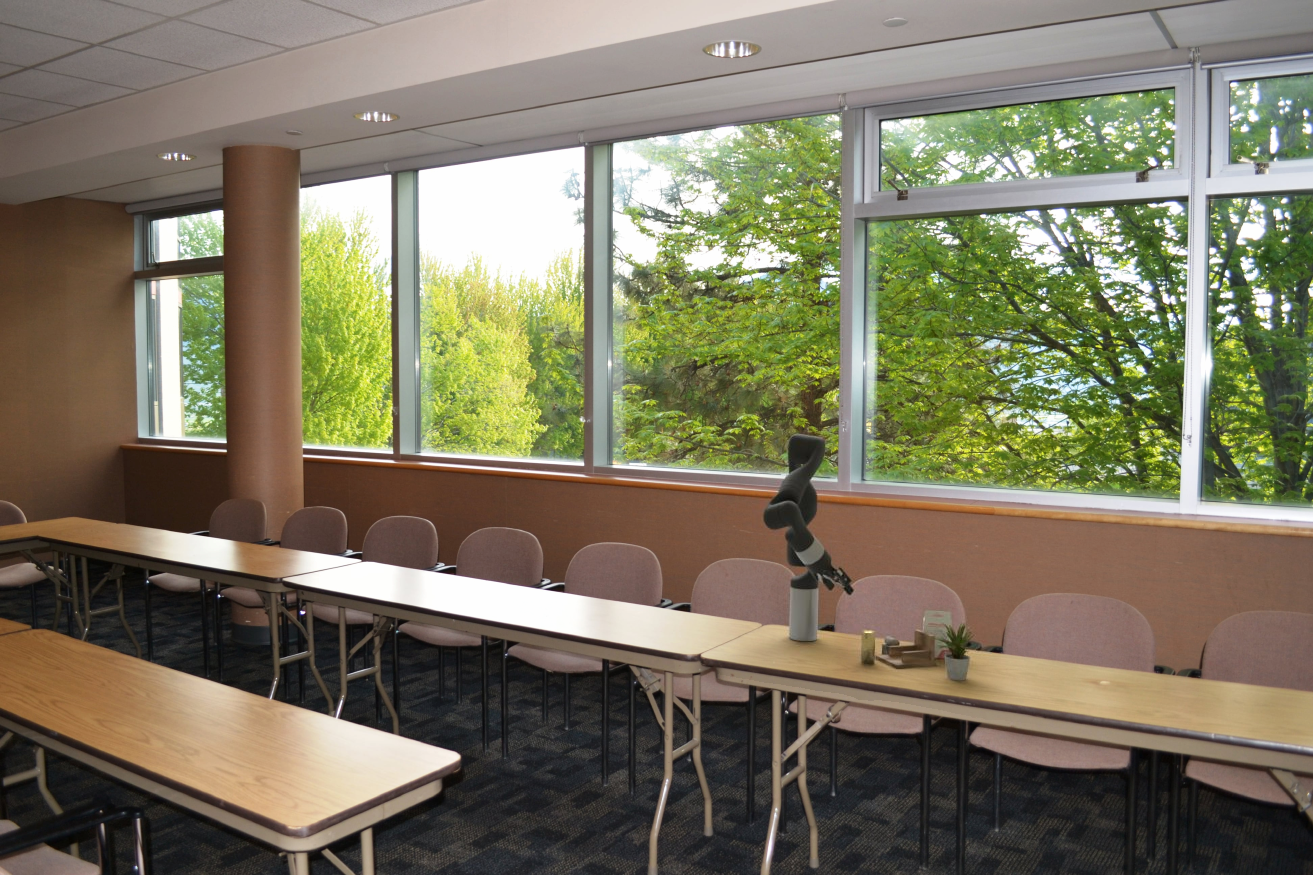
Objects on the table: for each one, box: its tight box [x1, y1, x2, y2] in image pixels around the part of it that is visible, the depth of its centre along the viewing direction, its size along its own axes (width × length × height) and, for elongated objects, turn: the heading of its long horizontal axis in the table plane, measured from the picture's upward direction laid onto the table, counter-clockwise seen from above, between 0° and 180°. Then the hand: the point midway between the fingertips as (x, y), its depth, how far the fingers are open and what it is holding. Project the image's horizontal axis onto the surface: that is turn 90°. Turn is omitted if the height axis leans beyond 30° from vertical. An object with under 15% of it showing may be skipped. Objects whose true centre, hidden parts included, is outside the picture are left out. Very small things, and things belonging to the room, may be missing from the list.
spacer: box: [860, 629, 876, 666], centre depth 295 cm, size 4×4×10 cm
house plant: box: [931, 621, 980, 681], centre depth 281 cm, size 14×14×16 cm
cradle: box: [875, 628, 938, 669], centre depth 299 cm, size 16×14×8 cm
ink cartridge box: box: [922, 610, 953, 660], centre depth 303 cm, size 9×5×15 cm, turn 76°
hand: (841, 590), depth 289 cm, fingers open, 8 cm apart
